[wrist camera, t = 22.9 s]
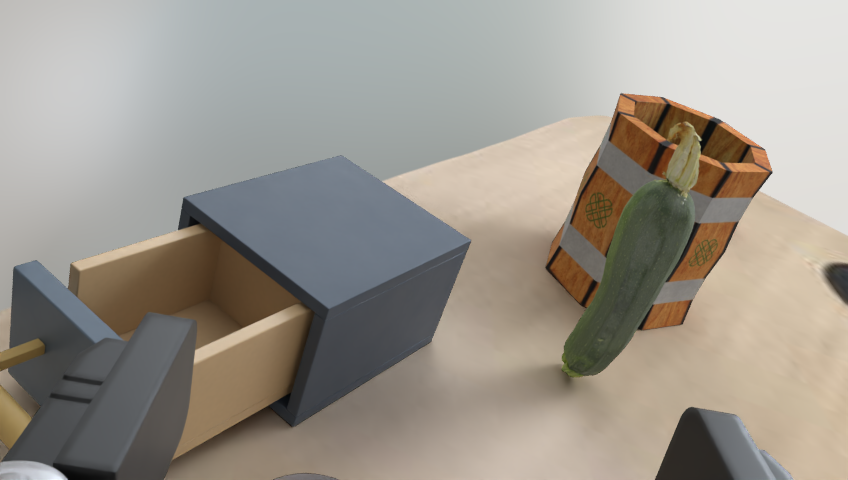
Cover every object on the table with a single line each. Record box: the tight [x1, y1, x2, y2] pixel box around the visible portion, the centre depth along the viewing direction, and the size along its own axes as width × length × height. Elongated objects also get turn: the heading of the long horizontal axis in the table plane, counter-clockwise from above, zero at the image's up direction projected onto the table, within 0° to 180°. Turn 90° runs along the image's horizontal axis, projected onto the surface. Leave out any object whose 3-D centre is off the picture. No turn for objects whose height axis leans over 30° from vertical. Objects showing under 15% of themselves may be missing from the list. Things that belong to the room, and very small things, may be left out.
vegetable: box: [562, 122, 701, 377], centre depth 52 cm, size 4×4×20 cm
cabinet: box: [178, 155, 471, 427], centre depth 51 cm, size 14×12×9 cm
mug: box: [546, 94, 772, 330], centre depth 70 cm, size 20×14×15 cm
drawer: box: [0, 224, 315, 460], centre depth 41 cm, size 17×10×7 cm, turn 143°
